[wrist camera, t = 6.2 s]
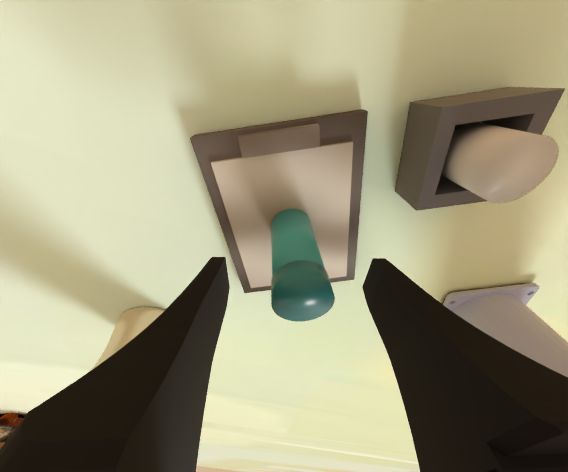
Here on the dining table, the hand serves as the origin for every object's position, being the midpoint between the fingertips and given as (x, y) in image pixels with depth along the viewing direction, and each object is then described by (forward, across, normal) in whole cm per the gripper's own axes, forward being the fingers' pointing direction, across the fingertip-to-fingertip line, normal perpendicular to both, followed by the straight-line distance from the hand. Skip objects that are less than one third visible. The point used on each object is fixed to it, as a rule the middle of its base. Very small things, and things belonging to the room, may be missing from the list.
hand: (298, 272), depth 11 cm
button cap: (+4, -9, -5) cm, 11 cm away
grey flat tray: (+5, 0, 0) cm, 5 cm away
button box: (+5, -9, -5) cm, 11 cm away
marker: (+4, 0, 0) cm, 4 cm away
